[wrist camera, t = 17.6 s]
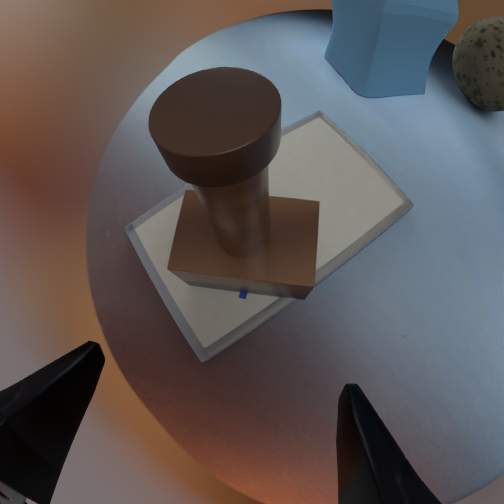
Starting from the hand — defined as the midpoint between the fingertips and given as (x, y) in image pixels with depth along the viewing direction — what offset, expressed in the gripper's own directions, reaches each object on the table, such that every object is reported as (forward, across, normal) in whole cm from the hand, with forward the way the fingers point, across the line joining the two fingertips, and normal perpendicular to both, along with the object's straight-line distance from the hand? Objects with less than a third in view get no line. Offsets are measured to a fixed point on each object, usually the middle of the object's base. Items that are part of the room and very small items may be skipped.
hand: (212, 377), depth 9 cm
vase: (+30, -11, -15) cm, 35 cm away
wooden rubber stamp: (+12, 0, +2) cm, 12 cm away
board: (+15, -1, 0) cm, 15 cm away
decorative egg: (+30, -27, -16) cm, 44 cm away
